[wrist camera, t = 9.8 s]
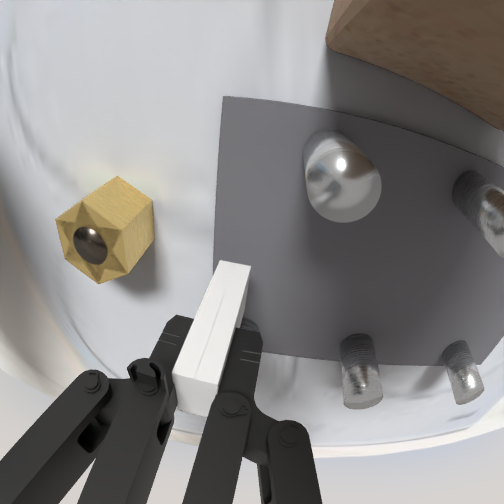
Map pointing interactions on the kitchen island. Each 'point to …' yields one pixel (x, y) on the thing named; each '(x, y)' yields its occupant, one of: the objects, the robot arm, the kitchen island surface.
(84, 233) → the nut
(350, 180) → the set of silver pegs
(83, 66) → the kitchen island surface
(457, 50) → the wooden block
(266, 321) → the grey flat plate
